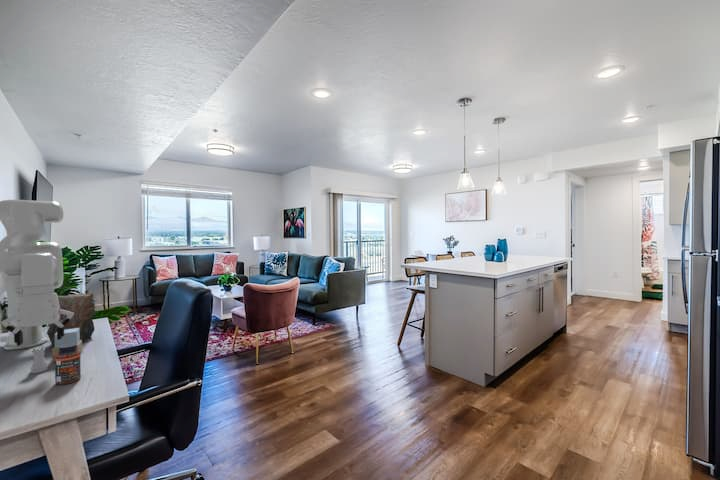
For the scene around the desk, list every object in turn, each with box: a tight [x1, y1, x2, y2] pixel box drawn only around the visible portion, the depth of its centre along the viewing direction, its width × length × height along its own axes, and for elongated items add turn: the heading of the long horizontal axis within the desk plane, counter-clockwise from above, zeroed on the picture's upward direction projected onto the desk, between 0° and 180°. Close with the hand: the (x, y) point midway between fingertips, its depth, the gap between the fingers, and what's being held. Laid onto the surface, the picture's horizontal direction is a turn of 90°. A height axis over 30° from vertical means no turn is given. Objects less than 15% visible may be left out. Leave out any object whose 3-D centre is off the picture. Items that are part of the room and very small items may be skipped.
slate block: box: [54, 328, 80, 348], centre depth 119 cm, size 6×6×5 cm
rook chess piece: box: [29, 345, 50, 375], centre depth 107 cm, size 4×4×8 cm
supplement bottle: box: [54, 343, 82, 386], centre depth 99 cm, size 6×6×11 cm
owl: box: [46, 292, 96, 347], centre depth 136 cm, size 13×13×20 cm
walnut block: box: [52, 340, 83, 363], centre depth 119 cm, size 7×7×5 cm
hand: (40, 341), depth 106 cm, fingers open, 9 cm apart
